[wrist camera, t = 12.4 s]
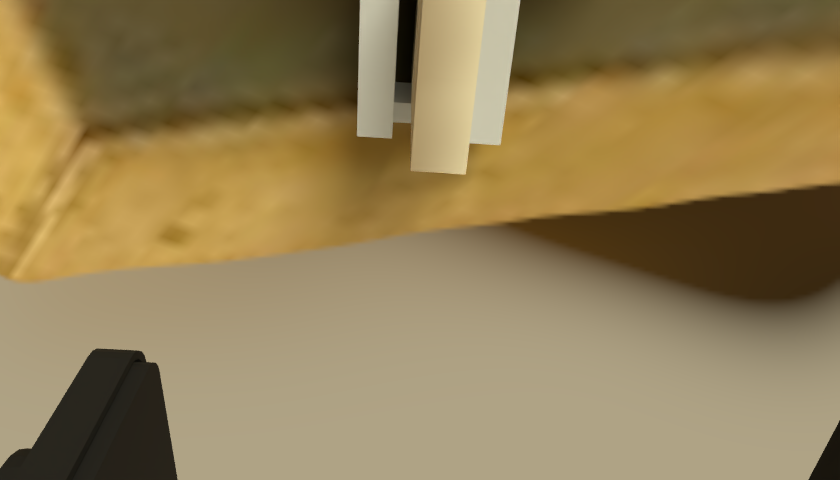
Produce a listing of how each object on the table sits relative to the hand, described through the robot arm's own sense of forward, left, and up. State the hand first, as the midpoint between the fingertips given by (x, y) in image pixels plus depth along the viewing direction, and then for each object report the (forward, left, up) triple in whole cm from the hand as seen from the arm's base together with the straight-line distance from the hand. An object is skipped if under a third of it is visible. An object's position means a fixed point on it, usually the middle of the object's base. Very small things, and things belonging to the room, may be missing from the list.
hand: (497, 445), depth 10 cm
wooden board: (0, 0, -28) cm, 28 cm away
